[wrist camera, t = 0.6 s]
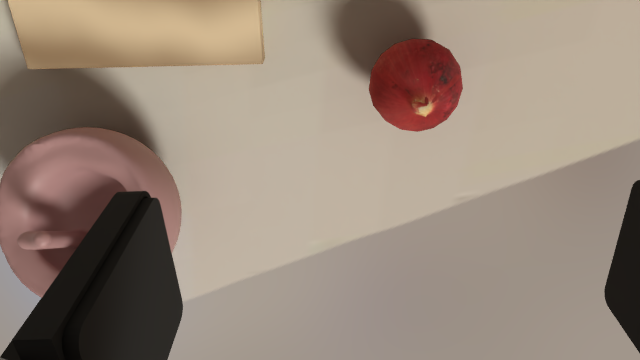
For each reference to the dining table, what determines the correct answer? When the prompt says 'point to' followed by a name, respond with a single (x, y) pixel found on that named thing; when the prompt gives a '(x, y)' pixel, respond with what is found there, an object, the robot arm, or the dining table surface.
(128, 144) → the mortar and pestle
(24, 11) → the oak board
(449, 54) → the pomegranate
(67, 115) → the dining table surface
